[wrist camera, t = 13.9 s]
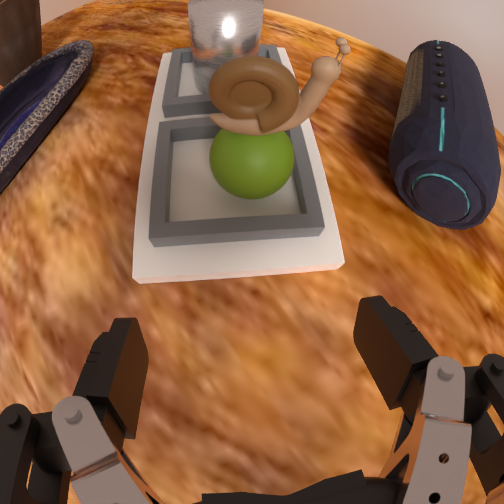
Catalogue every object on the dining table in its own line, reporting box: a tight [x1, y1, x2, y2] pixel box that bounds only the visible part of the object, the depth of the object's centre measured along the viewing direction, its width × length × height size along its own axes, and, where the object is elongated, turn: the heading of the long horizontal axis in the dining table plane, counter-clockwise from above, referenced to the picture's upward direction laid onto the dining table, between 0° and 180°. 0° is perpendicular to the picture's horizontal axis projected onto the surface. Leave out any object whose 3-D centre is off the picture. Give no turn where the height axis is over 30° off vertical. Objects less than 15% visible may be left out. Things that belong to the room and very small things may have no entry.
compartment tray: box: [132, 44, 345, 284], centre depth 23 cm, size 14×26×3 cm, turn 5°
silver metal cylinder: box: [188, 0, 264, 94], centre depth 21 cm, size 6×6×9 cm
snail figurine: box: [209, 37, 350, 199], centre depth 15 cm, size 5×6×12 cm
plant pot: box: [0, 0, 42, 87], centre depth 21 cm, size 15×15×16 cm
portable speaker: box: [388, 40, 501, 230], centre depth 22 cm, size 25×10×10 cm, turn 153°
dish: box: [0, 40, 94, 193], centre depth 22 cm, size 16×31×5 cm, turn 154°
